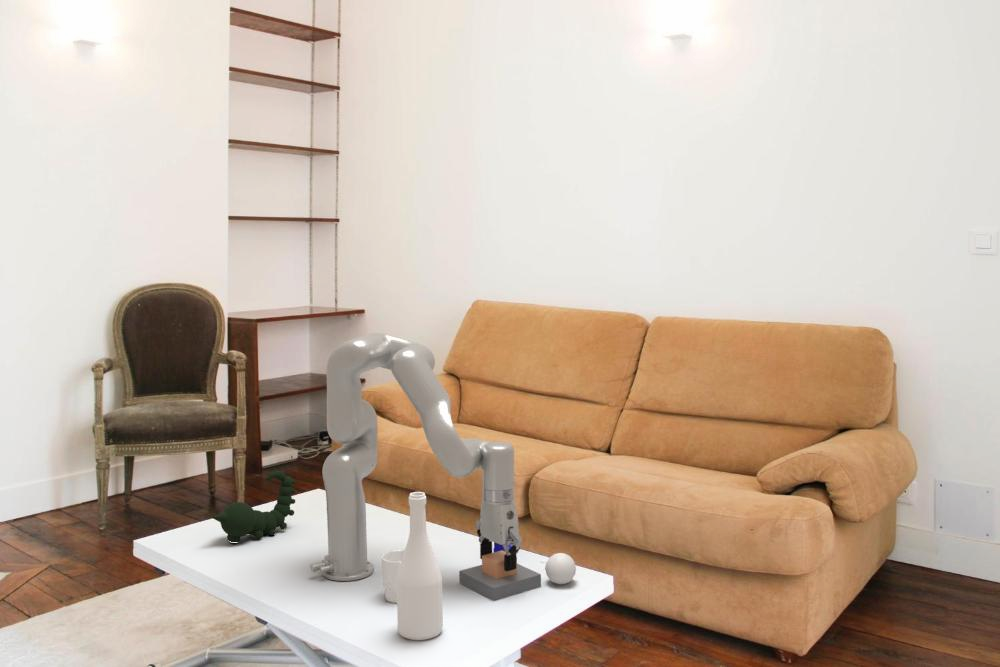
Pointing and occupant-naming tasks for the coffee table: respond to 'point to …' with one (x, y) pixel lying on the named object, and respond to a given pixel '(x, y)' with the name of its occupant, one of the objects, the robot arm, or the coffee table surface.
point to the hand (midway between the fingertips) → (498, 563)
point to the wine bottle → (419, 580)
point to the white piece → (560, 568)
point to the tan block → (496, 565)
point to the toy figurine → (258, 513)
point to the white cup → (391, 573)
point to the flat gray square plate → (499, 582)
